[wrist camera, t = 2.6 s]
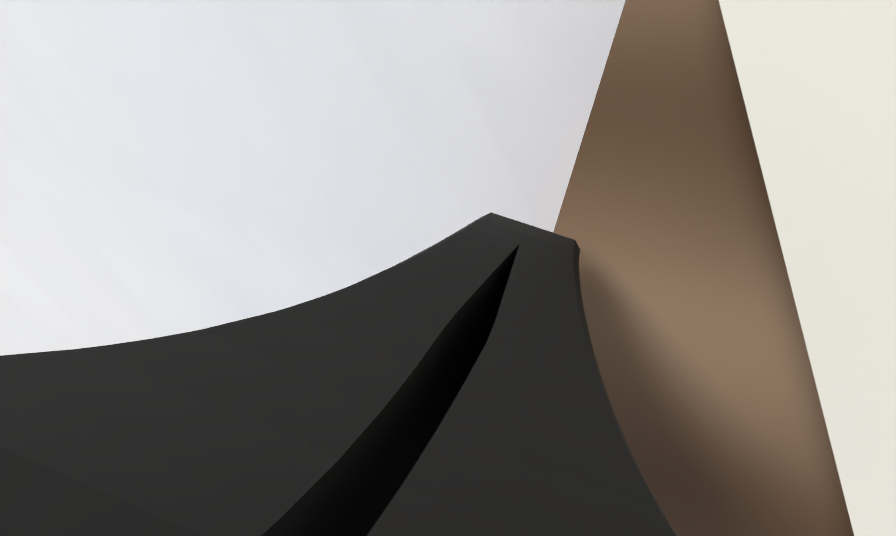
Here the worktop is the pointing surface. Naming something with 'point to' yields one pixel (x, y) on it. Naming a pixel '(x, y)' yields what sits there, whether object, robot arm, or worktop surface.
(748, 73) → the swing link
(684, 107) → the pivot board
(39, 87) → the worktop surface
